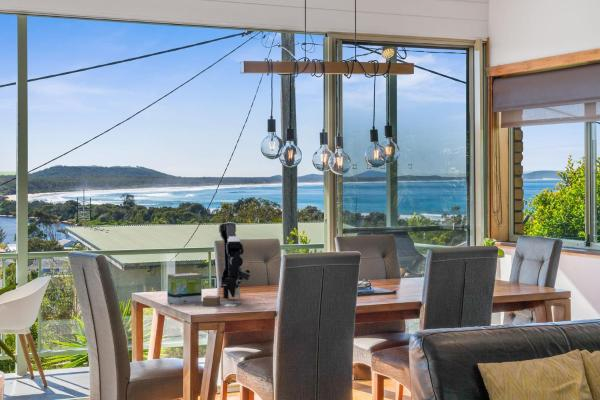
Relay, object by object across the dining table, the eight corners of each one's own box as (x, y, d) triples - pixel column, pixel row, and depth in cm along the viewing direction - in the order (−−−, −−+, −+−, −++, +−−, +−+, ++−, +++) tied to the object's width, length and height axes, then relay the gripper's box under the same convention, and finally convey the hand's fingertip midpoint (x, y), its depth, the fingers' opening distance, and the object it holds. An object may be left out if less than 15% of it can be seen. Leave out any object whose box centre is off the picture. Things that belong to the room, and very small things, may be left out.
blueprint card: (227, 304, 424) (227, 303, 424) (237, 304, 424) (237, 303, 424) (224, 306, 418) (224, 305, 418) (234, 306, 418) (234, 305, 418)
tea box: (176, 305, 428) (175, 275, 427) (167, 302, 436) (166, 274, 435) (202, 302, 436) (202, 273, 436) (192, 300, 445) (192, 272, 444)
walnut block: (206, 303, 428) (206, 295, 427) (220, 303, 427) (220, 295, 426) (203, 305, 421) (203, 297, 421) (216, 305, 420) (216, 297, 419)
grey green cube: (230, 297, 432) (230, 287, 432) (240, 297, 431) (240, 287, 431) (228, 298, 427) (228, 289, 427) (238, 299, 426) (238, 289, 426)
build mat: (202, 302, 436) (202, 301, 436) (243, 303, 432) (243, 301, 432) (193, 307, 420) (193, 305, 420) (236, 307, 417) (236, 306, 416)
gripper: (245, 267, 418) (246, 299, 418) (253, 263, 436) (253, 293, 437) (223, 267, 420) (224, 298, 420) (232, 263, 438) (232, 293, 438)
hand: (234, 296), depth 429 cm, fingers closed on grey green cube, 5 cm apart
